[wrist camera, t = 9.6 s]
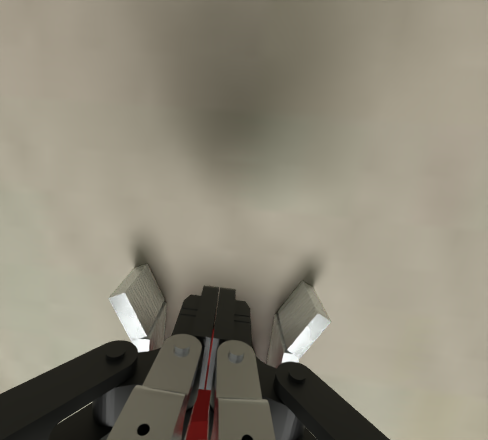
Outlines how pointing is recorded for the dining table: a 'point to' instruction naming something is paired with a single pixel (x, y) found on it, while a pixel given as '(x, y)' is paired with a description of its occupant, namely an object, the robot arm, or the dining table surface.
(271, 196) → the dining table surface
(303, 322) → the grey u-shaped holder
